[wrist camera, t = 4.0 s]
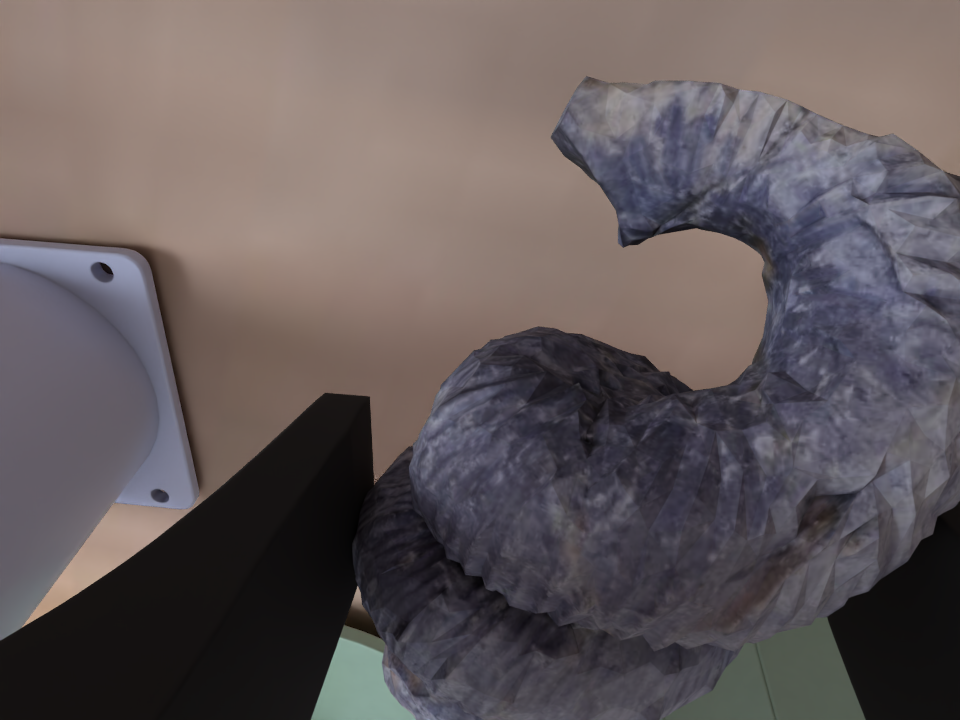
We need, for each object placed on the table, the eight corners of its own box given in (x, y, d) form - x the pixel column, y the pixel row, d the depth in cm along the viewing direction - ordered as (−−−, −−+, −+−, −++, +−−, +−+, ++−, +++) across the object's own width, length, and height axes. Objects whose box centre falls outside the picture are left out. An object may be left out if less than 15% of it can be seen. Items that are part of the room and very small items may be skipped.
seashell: (726, 28, 9) (474, 532, 15) (429, -39, 5) (237, 679, 11) (1190, 250, 7) (686, 749, 12) (1257, 412, 3) (482, 1032, 9)
